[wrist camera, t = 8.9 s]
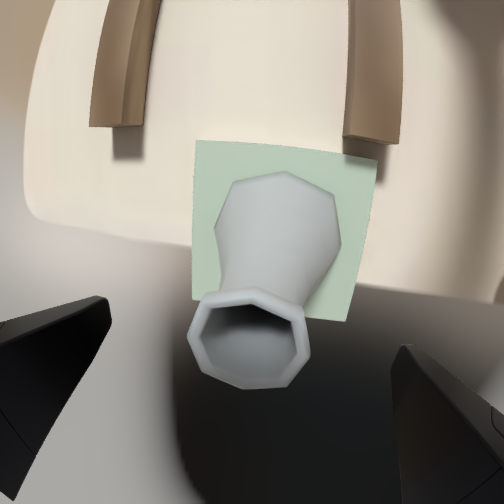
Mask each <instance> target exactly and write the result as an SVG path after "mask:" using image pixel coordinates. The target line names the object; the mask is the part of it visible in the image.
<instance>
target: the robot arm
mask: <svg viewBox="0 0 504 504" xmlns="http://www.w3.org/2000/svg"><path fill="white" fill-rule="evenodd" d="M111 324H112V318H111V313H110V307H109V302H108V300H107V299H106V298H104V297H100V296H92V297H89V298H85V299H82V300H78V301H74V302H71V303H67V304H64V305H60V306H57V307H53V308H50V309H46V310H42V311H39V312H36V313H32V314H28V315H25V316H21V317H17V318H14V319H10V320H7V321H3V322H0V492H2V493H3V494H4V495H6V496H7V497H8V498H9V499H11V500H12V501H14V500H15V498H16V496H17V494H18V492H19V490H20V488H21V485H22V483H23V481H24V479H25V477H26V475H27V473H28V471H29V469H30V467H31V465H32V463H33V461H34V459H35V458H36V455H37V453H38V452H39V449H40V448H41V446H42V444H43V442H44V441H45V439H46V437H47V435H48V433H49V432H50V430H51V428H52V426H53V425H54V423H55V421H56V419H57V418H58V416H59V414H60V413H61V411H62V409H63V407H64V406H65V404H66V403H67V401H68V399H69V398H70V396H71V394H72V393H73V391H74V390H75V388H76V386H77V385H78V383H79V382H80V380H81V378H82V377H83V375H84V374H85V372H86V371H87V369H88V367H89V366H90V364H91V363H92V361H93V359H94V357H95V356H96V354H97V352H98V350H99V348H100V346H101V344H102V342H103V340H104V338H105V337H106V335H107V333H108V331H109V329H110V327H111ZM391 387H392V403H393V417H394V424H395V430H396V438H397V446H398V454H399V463H400V474H401V486H402V504H504V415H503V414H502V413H500V412H499V411H498V410H497V409H496V408H494V407H493V406H491V405H490V404H489V403H488V402H487V401H486V400H484V399H483V398H482V397H481V396H479V395H478V394H477V393H476V392H474V391H473V390H472V389H471V388H469V387H468V386H467V385H466V384H464V383H463V382H462V381H461V380H459V379H458V378H457V377H455V376H454V375H453V374H452V373H450V372H449V371H448V370H446V369H445V368H444V367H443V366H441V365H440V364H439V363H438V362H436V361H435V360H434V359H432V358H431V357H430V356H428V355H427V354H426V353H425V352H423V351H422V350H421V349H419V348H418V347H417V346H415V345H413V344H403V345H401V346H400V348H399V350H398V352H397V354H396V357H395V359H394V361H393V364H392V366H391Z"/></svg>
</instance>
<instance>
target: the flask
mask: <svg viewBox="0 0 504 504" xmlns="http://www.w3.org/2000/svg"><path fill="white" fill-rule="evenodd" d="M214 232H215V237H216V242H217V246H218V252H219V260H220V268H221V275H222V276H221V281H220V286H219V291H212V292H207V293H206V294H204V295H203V297H202V299H201V301H200V304H199V306H198V308H197V311H196V313H195V316H194V319H193V321H192V324H191V326H190V328H189V331H188V333H187V339H188V341H189V344H190V346H191V348H192V351H193V353H194V355H195V358H196V360H197V362H198V365H199V367H200V369H201V371H202V372H203V373H206V374H208V375H210V376H212V377H214V378H217V379H219V380H221V381H224V382H226V383H228V384H231V385H233V386H235V387H238V388H240V389H263V388H279V387H287V386H288V384H289V383H290V382H291V381H292V380H293V378H294V377H295V376H296V375H297V373H298V372H299V371H300V370H301V368H302V367H303V366H304V365H305V363H306V362H307V361H308V359H309V358H310V346H309V339H308V333H307V327H306V321H305V315H304V310H303V306H304V303H305V301H306V299H307V298H308V297H309V296H310V295H311V294H312V293H313V292H314V291H315V289H316V288H317V287H318V285H319V284H320V282H321V280H322V279H323V277H324V275H325V273H326V272H327V270H328V268H329V267H330V265H331V263H332V262H333V260H334V258H335V256H336V255H337V253H338V251H339V249H340V248H341V246H342V243H341V236H340V229H339V222H338V215H337V209H336V203H335V197H334V194H332V193H330V192H328V191H326V190H324V189H322V188H320V187H318V186H316V185H314V184H312V183H310V182H308V181H306V180H304V179H302V178H300V177H298V176H296V175H294V174H292V173H290V172H288V171H280V172H275V173H270V174H265V175H260V176H256V177H251V178H246V179H242V180H237V181H233V183H232V185H231V187H230V190H229V192H228V195H227V197H226V199H225V202H224V204H223V207H222V209H221V211H220V214H219V216H218V219H217V221H216V224H215V226H214Z"/></svg>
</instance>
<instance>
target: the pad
mask: <svg viewBox="0 0 504 504" xmlns="http://www.w3.org/2000/svg"><path fill="white" fill-rule="evenodd" d="M377 165H378V160H373V159H368V158H363V157H357V156H351V155H346V154H340V153H333V152H327V151H320V150H313V149H305V148H297V147H288V146H279V145H269V144H258V143H245V142H229V141H207V140H196V151H195V168H194V189H193V218H192V299H193V300H199V301H201V299H202V297H203V295H204V294H206V293H207V292H212V291H219V286H220V281H221V276H222V275H221V268H220V260H219V252H218V246H217V242H216V237H215V232H214V226H215V224H216V221H217V219H218V216H219V214H220V211H221V209H222V207H223V204H224V202H225V199H226V197H227V195H228V192H229V190H230V187H231V185H232V183H233V181H237V180H242V179H246V178H251V177H256V176H260V175H265V174H270V173H275V172H280V171H288V172H290V173H292V174H294V175H296V176H298V177H300V178H302V179H304V180H306V181H308V182H310V183H312V184H314V185H316V186H318V187H320V188H322V189H324V190H326V191H328V192H330V193H332V194H334V197H335V203H336V209H337V215H338V222H339V229H340V236H341V243H342V246H341V248H340V249H339V251H338V253H337V255H336V256H335V258H334V260H333V262H332V263H331V265H330V267H329V268H328V270H327V272H326V273H325V275H324V277H323V279H322V280H321V282H320V284H319V285H318V287H317V288H316V289H315V291H314V292H313V293H312V294H311V295H310V296H309V297H308V298H307V299H306V301H305V303H304V306H303V310H304V315H305V317H309V318H317V319H326V320H335V321H345V320H346V317H347V313H348V309H349V306H350V302H351V298H352V294H353V291H354V287H355V283H356V279H357V274H358V270H359V266H360V261H361V257H362V252H363V248H364V243H365V238H366V233H367V228H368V222H369V217H370V211H371V206H372V199H373V193H374V187H375V180H376V173H377Z"/></svg>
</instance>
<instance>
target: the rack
mask: <svg viewBox="0 0 504 504" xmlns="http://www.w3.org/2000/svg"><path fill="white" fill-rule="evenodd" d="M160 1H161V0H110V1H109V4H108V8H107V12H106V16H105V20H104V24H103V28H102V33H101V38H100V43H99V48H98V53H97V59H96V65H95V72H94V79H93V87H92V96H91V106H90V118H89V127H123V126H137V125H143V118H144V106H145V95H146V86H147V77H148V69H149V62H150V55H151V49H152V42H153V36H154V31H155V25H156V20H157V15H158V10H159V6H160ZM348 4H349V33H348V67H347V86H346V101H345V114H344V125H343V136H342V137H348V138H354V139H359V140H364V141H369V142H374V143H379V144H384V145H389V144H399V135H400V124H401V110H402V89H403V41H402V21H401V8H400V0H348Z"/></svg>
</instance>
